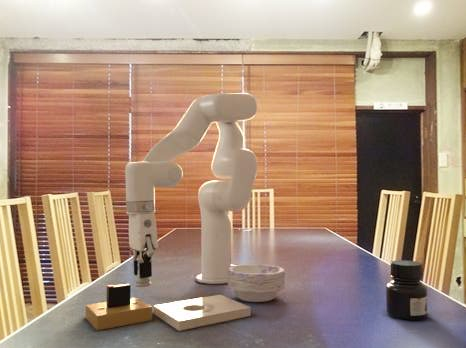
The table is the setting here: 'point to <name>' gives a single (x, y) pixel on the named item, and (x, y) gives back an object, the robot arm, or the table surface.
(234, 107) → the robot arm
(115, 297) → the black battery pack
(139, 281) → the rook chess piece
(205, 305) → the white socket plate
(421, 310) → the ink bottle
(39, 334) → the table surface
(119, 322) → the orange dial base
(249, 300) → the paper bowls
